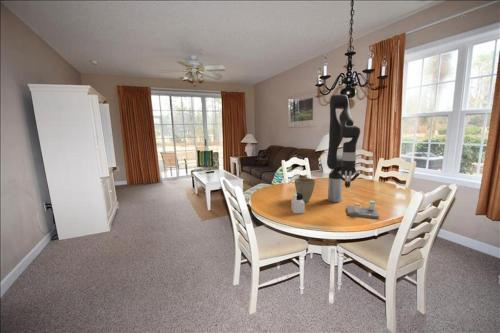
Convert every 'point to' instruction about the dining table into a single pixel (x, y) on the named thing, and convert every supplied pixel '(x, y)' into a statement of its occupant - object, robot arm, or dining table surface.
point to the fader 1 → (357, 207)
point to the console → (362, 212)
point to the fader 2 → (371, 205)
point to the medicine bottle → (298, 203)
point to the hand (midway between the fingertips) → (347, 187)
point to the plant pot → (305, 187)
